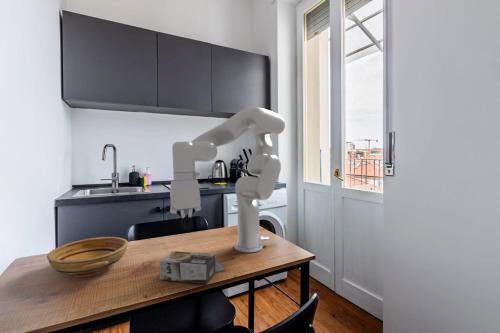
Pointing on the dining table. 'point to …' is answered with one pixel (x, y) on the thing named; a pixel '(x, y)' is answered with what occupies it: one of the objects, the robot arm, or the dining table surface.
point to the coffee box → (188, 267)
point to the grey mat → (218, 266)
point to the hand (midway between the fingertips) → (186, 227)
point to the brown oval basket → (87, 255)
